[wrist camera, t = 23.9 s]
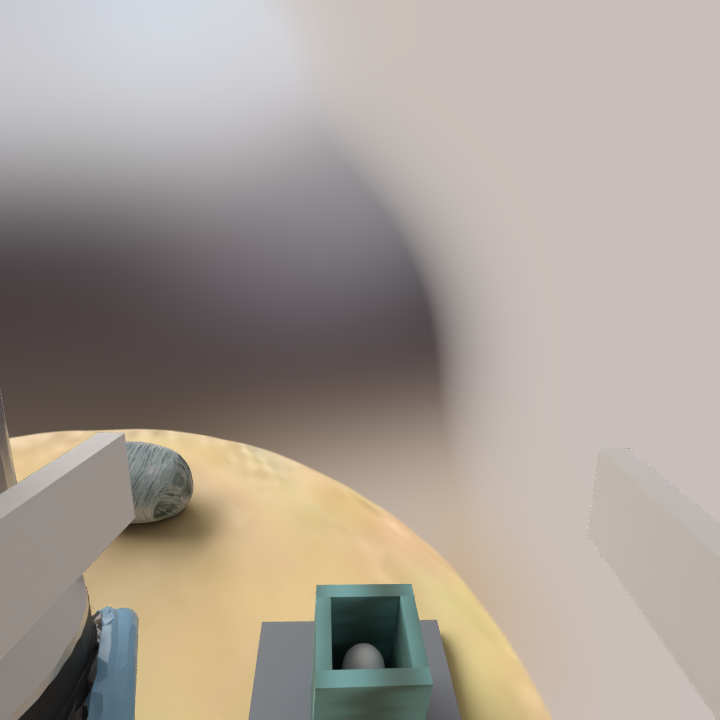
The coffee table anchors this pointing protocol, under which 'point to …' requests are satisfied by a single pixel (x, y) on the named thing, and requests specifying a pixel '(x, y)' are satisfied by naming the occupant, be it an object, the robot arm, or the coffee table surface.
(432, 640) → the hub plate
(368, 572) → the coffee table surface
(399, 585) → the sleeve
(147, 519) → the grey rounded piece
